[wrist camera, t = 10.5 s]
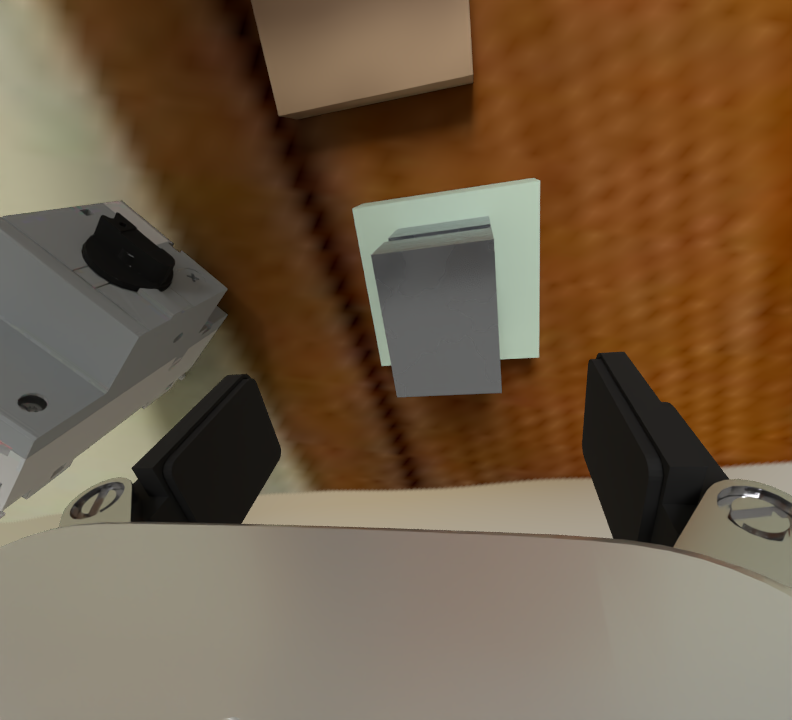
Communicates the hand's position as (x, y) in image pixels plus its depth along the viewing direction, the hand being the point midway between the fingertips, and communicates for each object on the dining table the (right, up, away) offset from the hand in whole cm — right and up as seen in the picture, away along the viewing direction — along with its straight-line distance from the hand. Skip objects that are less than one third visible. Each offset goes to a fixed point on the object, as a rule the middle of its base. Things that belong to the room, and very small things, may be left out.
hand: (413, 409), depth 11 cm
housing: (+3, +6, +12) cm, 14 cm away
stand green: (+3, +7, +14) cm, 16 cm away
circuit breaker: (-16, +7, +19) cm, 26 cm away
